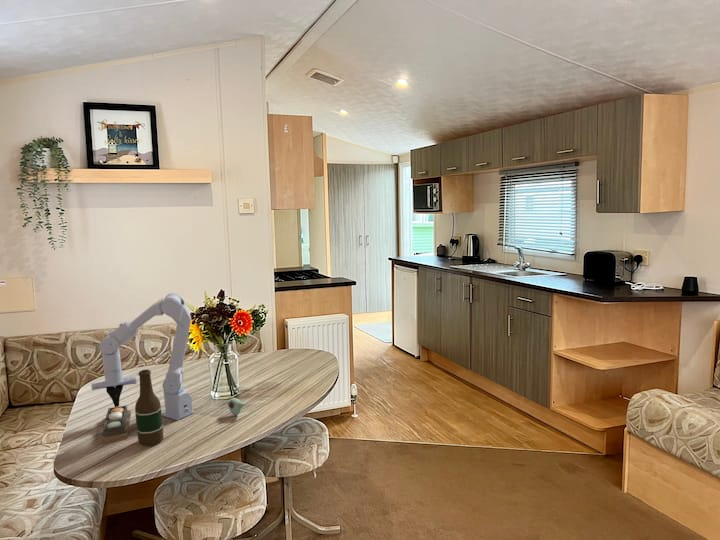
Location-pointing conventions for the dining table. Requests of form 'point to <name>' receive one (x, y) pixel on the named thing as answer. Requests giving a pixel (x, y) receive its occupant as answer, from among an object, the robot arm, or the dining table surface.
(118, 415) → the cream button
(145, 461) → the dining table surface
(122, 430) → the button panel
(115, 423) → the sage button
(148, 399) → the beer bottle
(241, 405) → the robot head
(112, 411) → the terracotta button
